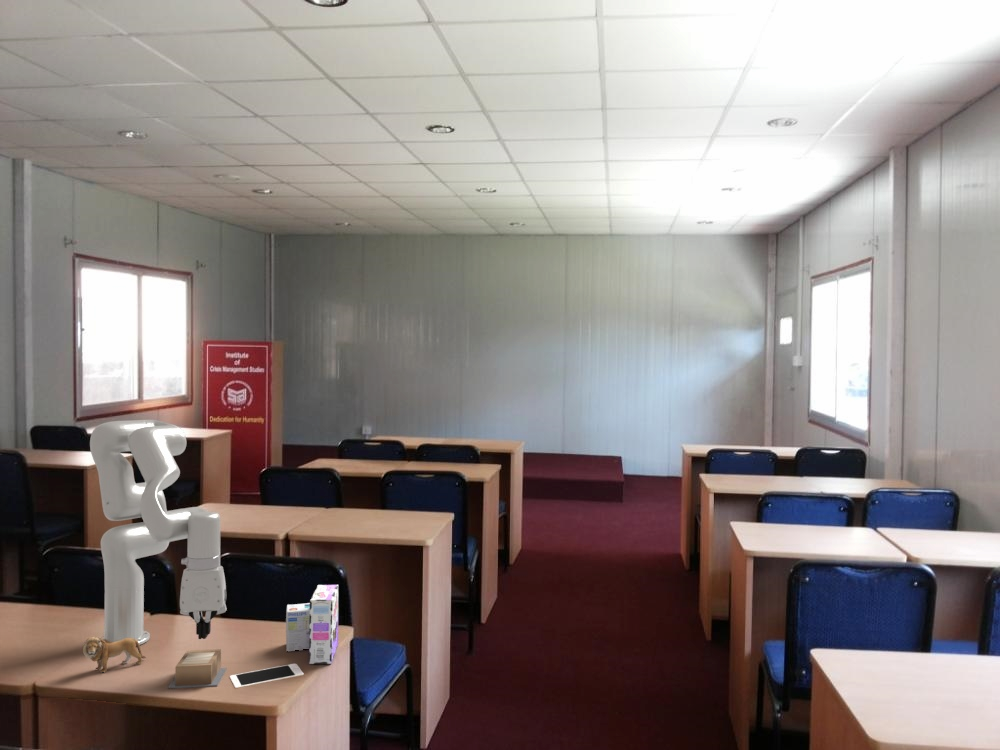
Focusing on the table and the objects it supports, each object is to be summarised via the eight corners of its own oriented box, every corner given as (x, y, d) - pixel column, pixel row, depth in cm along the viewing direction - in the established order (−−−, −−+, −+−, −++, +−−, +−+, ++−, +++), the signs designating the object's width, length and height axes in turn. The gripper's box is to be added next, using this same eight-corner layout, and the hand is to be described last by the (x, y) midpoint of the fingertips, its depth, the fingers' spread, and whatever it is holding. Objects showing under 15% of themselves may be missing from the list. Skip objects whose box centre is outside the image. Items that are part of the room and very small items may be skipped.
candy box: (332, 664, 187) (332, 599, 187) (308, 665, 187) (308, 600, 186) (338, 644, 201) (339, 583, 201) (316, 644, 200) (317, 583, 200)
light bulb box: (326, 639, 204) (326, 600, 204) (327, 648, 198) (327, 608, 198) (286, 643, 202) (286, 603, 201) (285, 652, 195) (286, 611, 195)
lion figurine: (87, 679, 177) (87, 642, 177) (79, 673, 181) (79, 636, 181) (149, 662, 188) (150, 626, 188) (141, 656, 192) (141, 622, 192)
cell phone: (304, 676, 181) (304, 674, 181) (235, 690, 173) (235, 687, 173) (296, 665, 188) (296, 663, 188) (229, 678, 180) (229, 675, 180)
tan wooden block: (187, 650, 183) (175, 666, 173) (220, 648, 184) (211, 664, 174) (187, 668, 183) (175, 685, 173) (220, 667, 184) (211, 684, 174)
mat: (179, 671, 182) (179, 670, 182) (226, 669, 184) (226, 667, 184) (167, 688, 172) (167, 687, 172) (217, 686, 174) (217, 684, 174)
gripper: (167, 567, 178) (166, 644, 178) (232, 565, 180) (231, 641, 180) (176, 559, 185) (175, 633, 186) (238, 558, 188) (238, 630, 188)
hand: (203, 636), depth 183 cm, fingers closed
